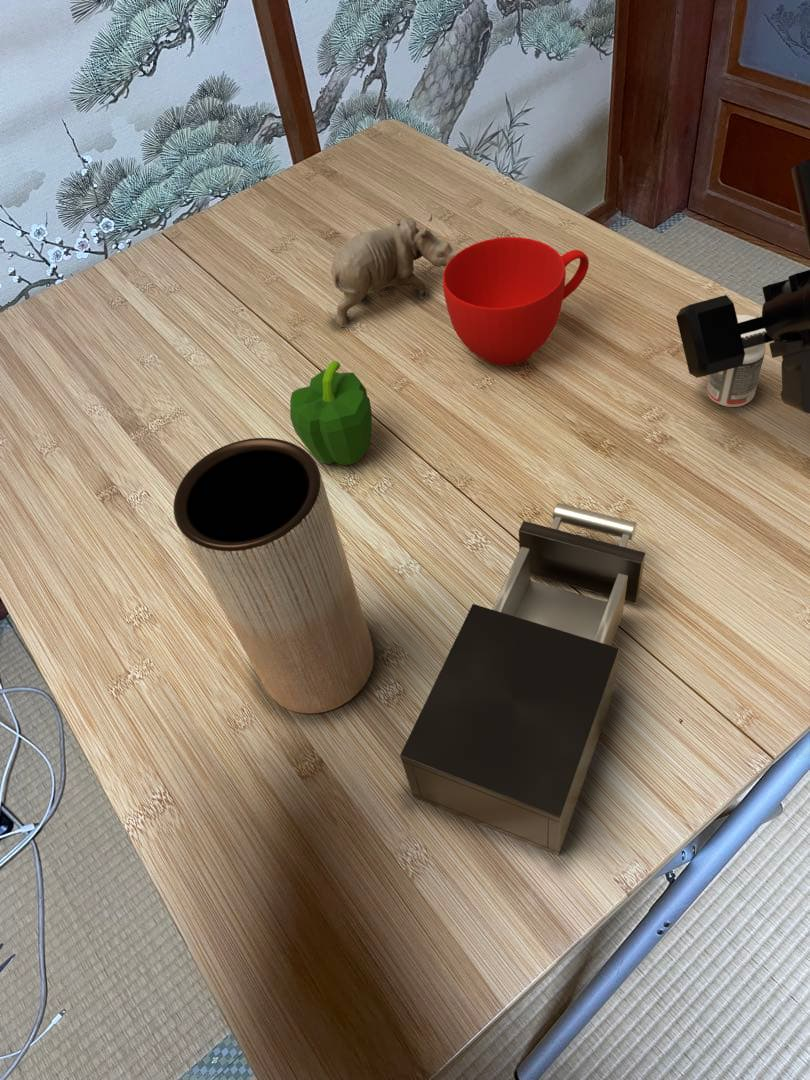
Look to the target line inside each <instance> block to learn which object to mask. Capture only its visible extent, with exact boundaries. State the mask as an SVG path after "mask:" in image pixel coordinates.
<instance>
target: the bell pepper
mask: <svg viewBox="0 0 810 1080" xmlns="http://www.w3.org/2000/svg"><path fill="white" fill-rule="evenodd" d="M340 368H341V363H340V362H339V361H338V360H332V362H329V364H328V365H327V367H326V369H324V370H322V371H320V372H319V373H318V374H316V375H314V376H313V377H312V378H311V379H310V382H309V386H305V387H301V388H297V389H295V390H293V391H292V392H291V395H290V400H289V404H290V405H289V408H290V409H289V411H290V412H289V415H290V416H289V417H290V421H291V424H292V427H293V429H294V432H295V434H296V435H297V437H298V438H299V440H300V441H301V442H302V443H303V445H304V447H306V449H308V451H309V452H310V453H311V454H312V456H313V457H314V458H315V459H316V460H317V461H319V462H321V463H322V464H326V465H331V464H333V463H336V464H338V465H341V466H342V465H344V466H352V465H353V464H354V463H356V462H359V461H360V460H362V458H364V456H365V454H366V453H367V452H368V450H369V449H370V447H371V444H372V443H371V442H372V435H373V434H372V433H373V432H372V431H373V430H372V429H373V411H372V405H371V401H370V397H369V396H368V393H367V392H368V391H367V389H366V387H365V386H364V385H363V383H362V382H361V380H360V379H359V377H358V376H357V375H356V374H355V372H352V371H351V372H338V371H339V369H340Z"/></svg>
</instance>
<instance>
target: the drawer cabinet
mask: <svg viewBox="0 0 810 1080" xmlns="http://www.w3.org/2000/svg"><path fill="white" fill-rule="evenodd" d="M492 609H493V608H492ZM492 609H491V608H488V607H486V606H481V605H479V604H475V603H472V604H471V606H470V608H469V610H468V612H467V615H466V617H465V619H464V621H463V623H462V626H461V627H460V629H459V631H458V633H457V635H456V638H455V640H454V642H453V644H452V645H451V648H450V650H449V652H448V654H447V657H446V659H445V661H444V663H443V664H442V667H441V669H440V671H439V673H438V675H437V677H436V679H435V681H434V684H433V686H432V687H431V690H430V692H429V694H428V696H427V699H426V700H425V703H424V704H423V707H422V709H421V710H420V713H419V715H418V717H417V719H416V721H415V723H414V725H413V728H412V729H411V732H410V734H409V736H408V738H407V740H406V742H405V744H404V747H403V748H402V751H401V753H400V755H399V757H400V760H401V763H402V766H403V769H404V773H405V775H406V779H407V781H408V785H409V789H410V790H411V791H410V792H411V794H412V797H413V798H415V799H417V800H419V801H422V802H424V803H426V804H429V805H432V806H435V807H436V808H439V809H442V810H444V811H446V812H449V813H452V814H454V815H457V816H458V817H462V818H464V819H467V820H468V821H471V822H474V823H476V824H478V825H482V826H484V827H486V828H489V829H491V830H494V831H496V832H498V833H501V834H503V835H506V836H509V837H511V838H513V839H516V840H519V841H522V842H523V843H526V844H529V845H531V846H533V847H536V848H538V849H541V850H544V851H545V852H548V853H551V854H553V855H556V856H559V855H560V853H561V850H562V847H563V845H564V841H565V839H566V835H567V832H568V829H569V826H570V823H571V820H572V817H573V815H574V812H575V810H576V809H575V808H576V806H577V803H578V799H579V797H580V795H581V791H582V789H583V785H584V782H585V780H586V776H587V773H588V770H589V768H590V766H591V762H592V758H593V756H594V753H595V750H596V748H597V745H598V741H599V739H600V736H601V732H602V729H603V727H604V723H605V721H606V718H607V716H608V715H607V714H608V711H609V709H610V706H611V703H612V700H613V696H614V689H615V680H616V673H617V666H618V659H619V654H620V653H619V651H620V648H619V647H617V646H614V645H611V646H610V645H607V644H603V643H600V642H597V641H594V640H590V639H587V638H584V637H580V636H577V635H574V634H571V633H567V632H564V631H561V630H557V629H554V628H551V627H548V626H544V625H541V624H538V623H534V622H531V621H528V620H525V619H521V618H518V617H515V616H511V615H508V614H505V613H502V612H498V611H495V610H492Z"/></svg>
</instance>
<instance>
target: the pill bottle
mask: <svg viewBox="0 0 810 1080" xmlns="http://www.w3.org/2000/svg"><path fill="white" fill-rule="evenodd" d="M736 316H737V320H738V323H740V322H744V321H747V320H751V319H755V318H757V317H756V316H754V315H749V314H736ZM764 331H765V332H766V330H765V328H764V329H760V330H757V331H753V332H749V333H746V334H742V335H741V338H742V337H744V338H745V337H746V336H748V337H749V335H753V334H757V335H758V333H760V332H761V334H762V332H764ZM744 351H745V356H744V360H743V365H742V366H739V367H736V368H732V369H728V370H725V371H721V372H718V373H714V374H711V375H708V379H707V384H706V393H707V395H708V397H709V399H710V400H711V401H713V402H714V403H716V404H718V405H720V406H722V407H723V406H724V407H726V408H727V407H728V408H736V407H742V406H744V405H747V404H748V403H749V402H751V401H752V400H753V399H754V397H755V395H756V391H757V387H758V384H759V383H758V382H759V379H760V374H761V371H762V367H763V363H764V359H765V355H766V343H764V344H760V345H757V346H753V347H749V348H746V349H744Z"/></svg>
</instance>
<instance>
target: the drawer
mask: <svg viewBox="0 0 810 1080" xmlns="http://www.w3.org/2000/svg"><path fill="white" fill-rule="evenodd" d="M552 520H553V521H552V522H551V525H550V527H549V526H545V525H541V524H537V523H533V522H529V521H527V520H523V521H522V523H521V525H520V527H519V530H518V546H519V547H518V548H519V550H518V552H517V555H516V556H515V558H514V560H513V563H512V565H511V567H510V570H509V571H508V574H507V576H506V578H505V581H504V582H503V585H502V587H501V588H500V591H499V594H498V596H497V597H496V600H495V603H494V604H493V606H492V610H495V611H498V612H502V613H505V614H508V615H511V616H515V617H518V618H521V619H525V620H528V621H531V622H534V623H538V624H541V625H544V626H548V627H551V628H554V629H557V630H561V631H564V632H567V633H571V634H574V635H577V636H580V637H584V638H587V639H590V640H594V641H597V642H600V643H603V644H607V645H610V646H613V642H614V639H615V636H616V633H617V630H618V628H619V626H620V622H621V620H622V617H623V614H624V610H625V603H627V602H628V603H631V604H634V605H635V604H636V603H637V601H638V598H639V595H640V591H641V584H642V578H643V570H644V567H645V559H646V552H645V551H641V550H637V549H635V548H634V549H633V548H630V547H627V546H628V544H629V541H633V539H634V537H635V534H636V530H637V522H636V521H632V520H628V519H625V518H621V517H616V516H612V515H608V514H604V513H600V512H596V511H592V510H588V509H584V508H580V507H576V506H572V505H568V504H565V503H564V504H563V503H560V502H558V503H556V505H555V507H554V510H553V513H552ZM562 524H566V525H569V526H573V527H576V528H581V529H585V530H588V531H593V532H597V533H601V534H604V535H609V536H612V537H615V538H616V537H617V538H619V539H620V540H619V542H618V544H614V543H611V542H606V541H602V540H599V539H595V538H591V537H588V536H584V535H580V534H576V533H572V532H568V531H564V530H560V527H561V525H562ZM531 575H532V576H536V577H540V578H543V579H546V580H550V581H554V582H557V583H560V584H564V585H568V586H571V587H575V588H578V589H582V590H585V591H589V592H592V593H596V594H600V595H603V596H607V597H608V600H607V601H604V600H601V599H599V598H595V597H592V596H589V595H584V594H581V593H578V592H573V591H570V590H567V589H563V588H560V587H556V586H553V585H549V584H546V583H543V582H539V581H535V580H531V579H532V578H531Z"/></svg>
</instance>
